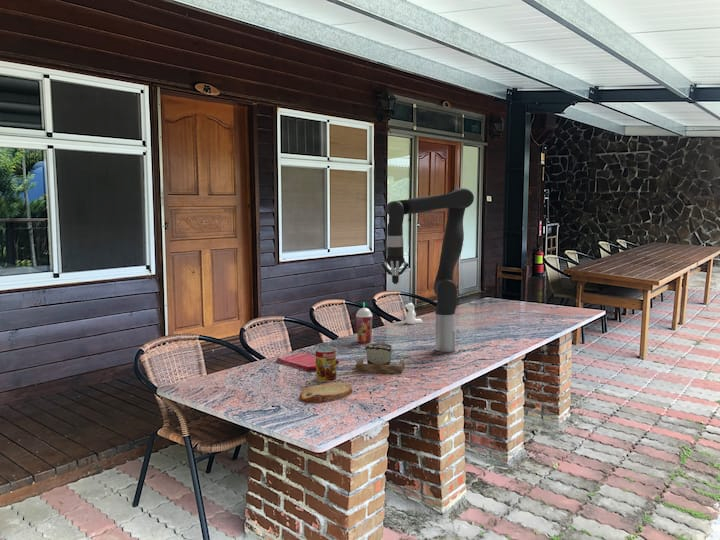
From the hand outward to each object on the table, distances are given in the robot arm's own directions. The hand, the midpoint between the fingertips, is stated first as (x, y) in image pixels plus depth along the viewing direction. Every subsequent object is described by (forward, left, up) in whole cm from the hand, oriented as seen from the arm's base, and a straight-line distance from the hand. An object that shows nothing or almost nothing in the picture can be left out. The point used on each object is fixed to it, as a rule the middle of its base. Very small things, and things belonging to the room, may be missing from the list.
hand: (395, 283), depth 272 cm
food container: (+3, +26, -32) cm, 41 cm away
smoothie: (+18, -18, -32) cm, 41 cm away
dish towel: (+36, +22, -33) cm, 53 cm away
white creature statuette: (-1, -66, -32) cm, 73 cm away
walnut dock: (+3, +27, -32) cm, 42 cm away
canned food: (+22, +44, -32) cm, 59 cm away
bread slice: (+17, +63, -33) cm, 73 cm away
